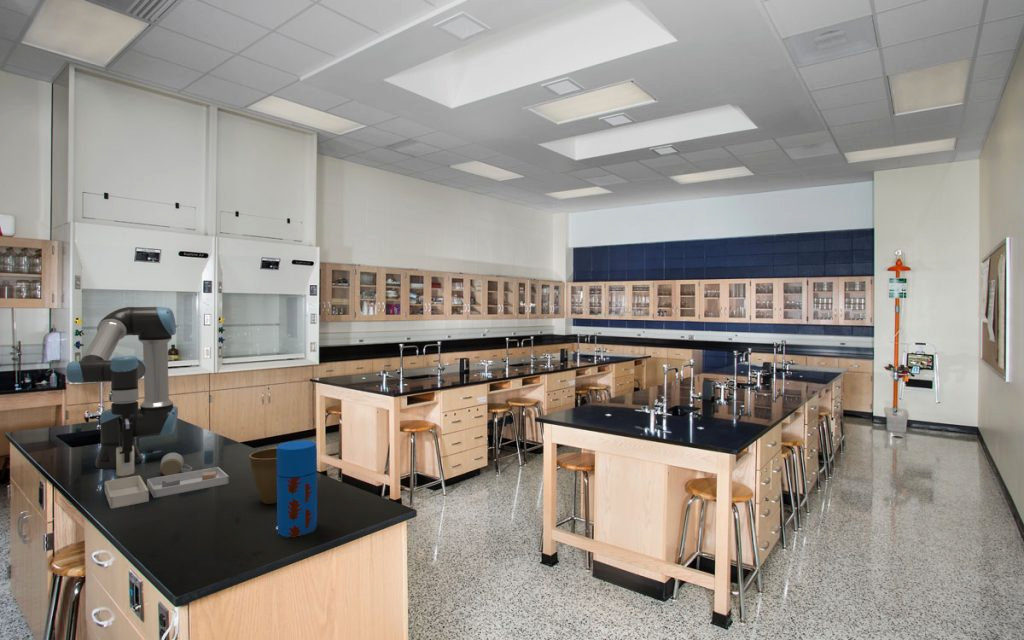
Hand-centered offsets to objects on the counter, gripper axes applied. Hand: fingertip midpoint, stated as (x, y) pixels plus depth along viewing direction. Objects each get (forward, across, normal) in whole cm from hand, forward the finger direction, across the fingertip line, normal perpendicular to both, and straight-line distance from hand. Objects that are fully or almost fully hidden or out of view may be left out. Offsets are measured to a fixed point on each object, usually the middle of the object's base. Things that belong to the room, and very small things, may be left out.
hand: (125, 469), depth 186 cm
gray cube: (+9, +4, +13) cm, 16 cm away
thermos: (+10, +65, +35) cm, 74 cm away
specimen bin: (+9, 0, 0) cm, 9 cm away
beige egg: (+1, 0, 0) cm, 1 cm away
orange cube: (+9, +4, +25) cm, 27 cm away
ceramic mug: (+10, -20, +18) cm, 28 cm away
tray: (+9, 0, +19) cm, 21 cm away
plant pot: (+10, +35, +38) cm, 52 cm away
